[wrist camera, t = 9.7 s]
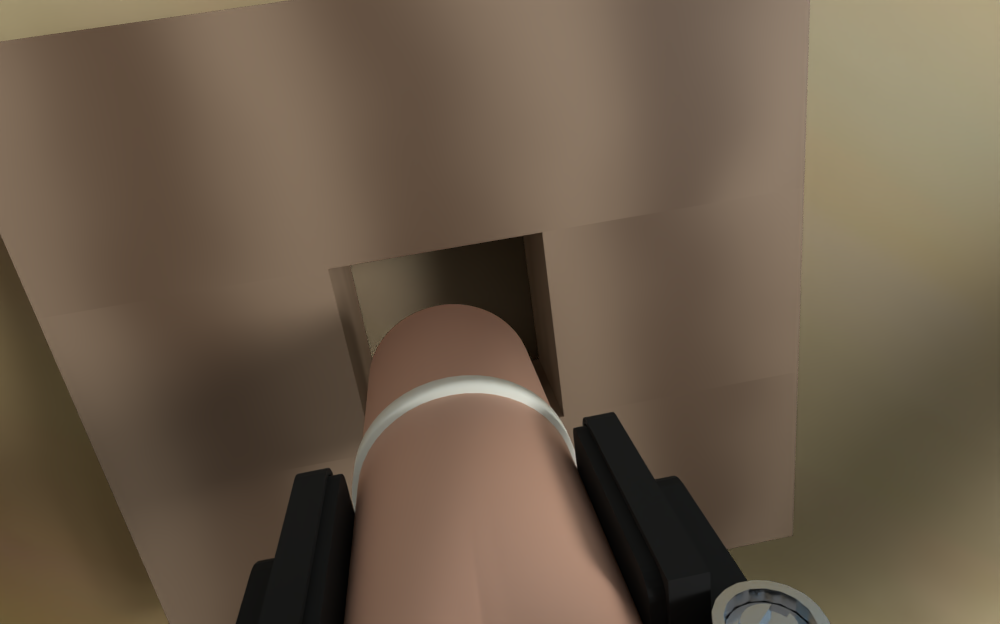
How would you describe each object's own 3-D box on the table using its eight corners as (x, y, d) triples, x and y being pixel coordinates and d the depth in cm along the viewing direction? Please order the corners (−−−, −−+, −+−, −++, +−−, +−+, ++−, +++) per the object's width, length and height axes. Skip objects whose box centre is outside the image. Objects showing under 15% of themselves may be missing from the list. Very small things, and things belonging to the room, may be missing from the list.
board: (734, -49, 19) (812, -75, 16) (737, 467, 26) (792, 535, 22) (22, 53, 18) (-79, 52, 14) (219, 571, 25) (186, 662, 21)
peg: (523, 285, 16) (1076, 1320, 3) (543, 436, 17) (960, 1545, 4) (347, 317, 15) (73, 1644, 3) (384, 467, 17) (328, 1763, 4)
